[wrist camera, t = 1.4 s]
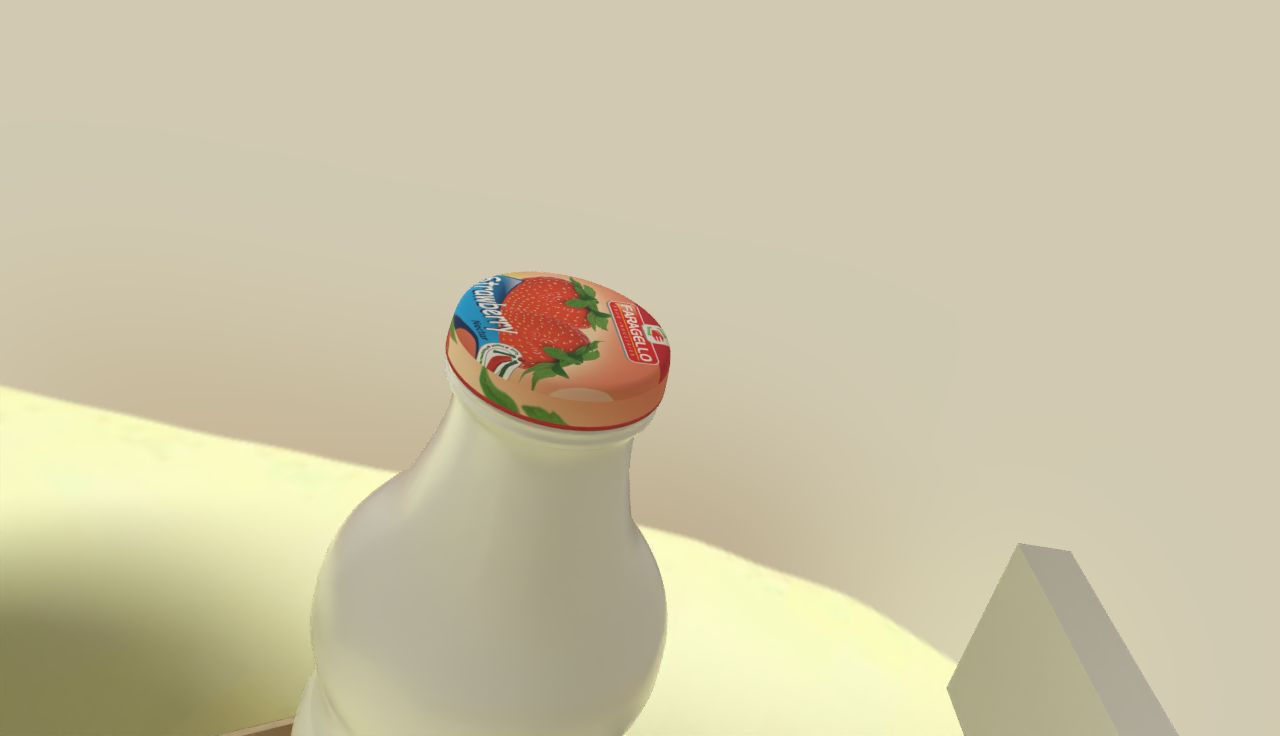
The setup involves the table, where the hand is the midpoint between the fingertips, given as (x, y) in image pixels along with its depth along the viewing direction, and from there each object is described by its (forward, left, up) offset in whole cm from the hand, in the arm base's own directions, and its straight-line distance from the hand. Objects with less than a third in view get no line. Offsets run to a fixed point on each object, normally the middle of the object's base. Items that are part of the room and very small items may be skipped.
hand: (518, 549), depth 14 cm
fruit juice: (-8, +5, -30) cm, 32 cm away
